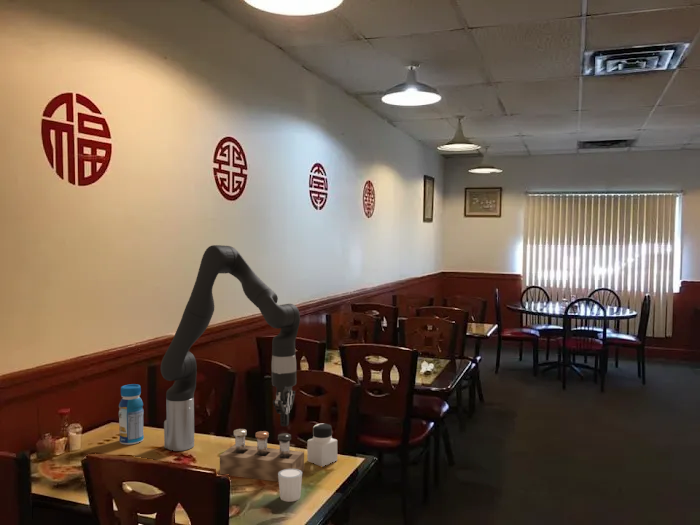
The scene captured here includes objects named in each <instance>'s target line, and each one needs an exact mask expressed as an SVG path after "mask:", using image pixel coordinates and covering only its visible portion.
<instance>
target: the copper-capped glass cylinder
mask: <svg viewBox="0 0 700 525" xmlns="http://www.w3.org/2000/svg"><path fill="white" fill-rule="evenodd" d="M269 434H270V433H269V431H266V430H263V431H262V430H260V431H257V432H255V438H256V442H257V444H256V445H257V446H256V447H257V456H267V448H268V438H269V436H270V435H269Z"/></svg>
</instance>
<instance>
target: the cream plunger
mask: <svg viewBox="0 0 700 525" xmlns="http://www.w3.org/2000/svg"><path fill="white" fill-rule="evenodd" d="M247 433H248V432H247V429H245V428H237V429H234V430H233V436H234V437H235V439H234V440H235V444H234V445H235V453H239V454H244V453H245V446H246V436H247Z"/></svg>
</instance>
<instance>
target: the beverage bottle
mask: <svg viewBox="0 0 700 525" xmlns="http://www.w3.org/2000/svg"><path fill="white" fill-rule="evenodd" d="M141 393H142V388H141V385H140V384H138V383H137V384H136V383H131V384H125V385H122V386H120V396H121V398H120V401H119V404H118V408H119V410H118V418H119V420H118V424H119V425H118V426H119V439H118V440H119V441H118V442H119V443H120V444H121V445H126V446H127V445H128V446H130V445H135V444H136V445H137V444H139V442H140V443H141V442H143V441H144V438H145V436H144V414H145V413H144V412H145V411H144V408H143V406H144V402H143V400H142V398H141V397H140V396H141Z"/></svg>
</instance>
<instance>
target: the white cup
mask: <svg viewBox="0 0 700 525" xmlns="http://www.w3.org/2000/svg"><path fill="white" fill-rule="evenodd" d="M278 479H279V482H278V487H279V498H280V500H281V501H283V502H289V503H290V502H296V501H299V500H300V499H301V494H302V492H301V491H302V481H303V472H302V471H301V470H298V469H284V470H281V471H280V472H278Z"/></svg>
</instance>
